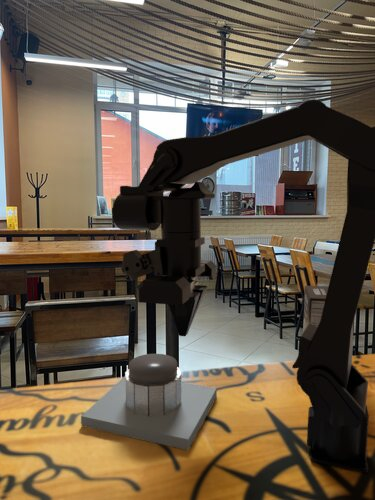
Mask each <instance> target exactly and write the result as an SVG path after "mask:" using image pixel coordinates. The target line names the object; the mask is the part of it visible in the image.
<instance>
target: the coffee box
mask: <svg viewBox="0 0 375 500" xmlns="http://www.w3.org/2000/svg"><path fill="white" fill-rule="evenodd" d="M328 287H329V285H328V286H327V285H326V286H324V285H305V286H304V295H303V296H304V299H303V321H302V323H303V324H302V326H303V328H302V333H303V332H304V330H305V328H306V327H307V325H308V324H309V323H310V324H312V325H314V326H316V327H318V325H319V323H320V320H321V316H322V312H323V308H324V304H325V300H326V295H327V291H328Z"/></svg>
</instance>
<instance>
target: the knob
mask: <svg viewBox="0 0 375 500" xmlns="http://www.w3.org/2000/svg"><path fill="white" fill-rule="evenodd" d="M177 367H178V361H177V359H176V358H175V357H173V356H171V355H168V354H163V353H146V354H141V355H138V356H136V357H134V358H132V359H131V360H130V361H129V363H128V369H129V377H130V378H131V379H132V380H133V381H135V382H137V383H141V384H147V385H155V384H162V383H166V382H168V381H171V380H172V379H174V378H175V377H176V375H177Z"/></svg>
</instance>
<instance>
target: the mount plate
mask: <svg viewBox="0 0 375 500" xmlns="http://www.w3.org/2000/svg"><path fill="white" fill-rule="evenodd" d="M217 390H218V389H217V387H212V386H208V385H207V386H205V385H201V384H200V385H199V384H194V383H188V382H182V381H181V404H180V405H179V407H178V408H177V409H176V410H175V411H173V412H170V413H168V414H166V415H163V416H154V417H149V416H148V417H146V416H141V415H136V414H134V413H132V412H131V411H130V410H129V409H127V407H126V383H125V376H124V377H122V378H121V379H120V380H119V381H118V382H117V383H116V384H115V385H114V386H112V387H111V388H110V389H109V390H108V391H107V392H106V393H105V394H103V396H101V397H100V398H99V399H98V400H97V401H96V402H95V403H94V404H93V405H92V406H90V408H88V409H87V410H86V411H85V412H84V413H83V414H82V415H80V416H81V417H80V418H81V419H80V421H81V423H80V424H81V426H82V427H83V428H84V427H85V428H89V429H93V430H98V431H101V432H106V433H111V434H115V435H120V436H124V437H128V438H134V439H138V440H141V441H146V442H149V443H153V444H155V443H156V444H159V445H163V446H168V447H172V448H177V449H182V450H186V451H189V450H190V448H191V446H192V444H193V442H194V441H195V439H196V437H197V435H198V433H199V431H200V429H201V427H202V426H203V423H204V422H205V419H206V418H207V416H208V414H209V412H210V410H211V408H212V407H213V404H214V402H215V401H216V399H217V397H218V396H217V394H218V393H217V392H218V391H217Z"/></svg>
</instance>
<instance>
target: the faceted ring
mask: <svg viewBox="0 0 375 500" xmlns="http://www.w3.org/2000/svg"><path fill="white" fill-rule="evenodd" d="M124 374H125V375H124V377H125V383H126V407H127V409H129V410H130V411H131V412H132V413H134V414H136V415H141V416H146V417H148V416H149V417H154V416H163V415H166V414H168V413H170V412H173V411H175V410H176V409H177V408H178V407H179V405H180V404H181V382H182V371H181V370H180V367H179V366H177V375H176V377H175V378H174V379H172V380H171V381H168V382H166V383H162V384H155V385H147V384H141V383H137V382H135V381H133V380H132V379H131V378H130V377H129V368H128V369H127V370H126V371H125V372H124Z"/></svg>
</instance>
